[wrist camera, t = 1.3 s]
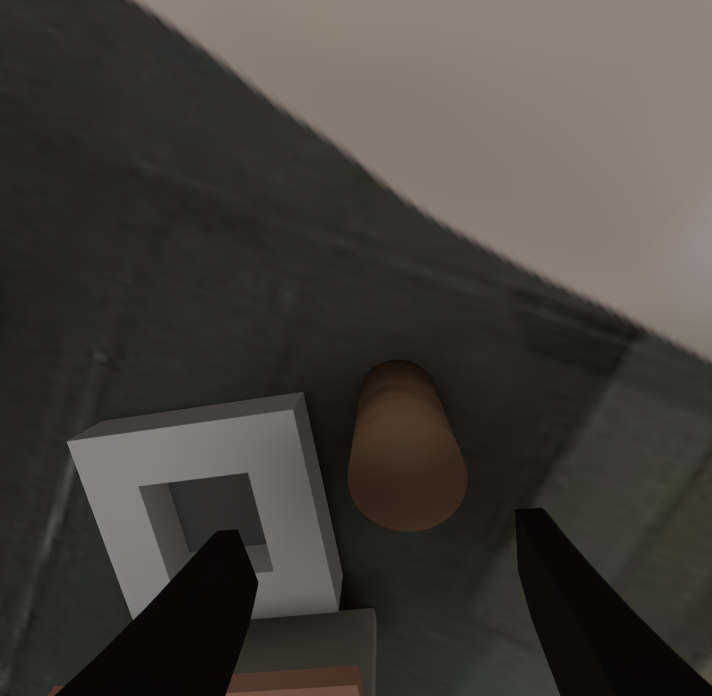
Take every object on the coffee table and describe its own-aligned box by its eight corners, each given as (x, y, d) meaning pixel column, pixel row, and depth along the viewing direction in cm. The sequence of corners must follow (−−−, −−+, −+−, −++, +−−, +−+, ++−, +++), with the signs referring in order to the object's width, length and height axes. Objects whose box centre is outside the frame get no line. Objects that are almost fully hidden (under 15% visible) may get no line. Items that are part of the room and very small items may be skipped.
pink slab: (376, 620, 24) (374, 763, 17) (154, 638, 26) (73, 776, 19) (364, 559, 23) (357, 685, 16) (134, 581, 25) (40, 705, 18)
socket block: (342, 575, 24) (338, 612, 21) (160, 592, 25) (136, 629, 22) (303, 391, 21) (292, 409, 19) (101, 421, 22) (66, 441, 20)
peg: (439, 425, 21) (473, 525, 13) (366, 434, 21) (358, 537, 14) (430, 354, 20) (460, 417, 12) (354, 365, 20) (337, 433, 13)
